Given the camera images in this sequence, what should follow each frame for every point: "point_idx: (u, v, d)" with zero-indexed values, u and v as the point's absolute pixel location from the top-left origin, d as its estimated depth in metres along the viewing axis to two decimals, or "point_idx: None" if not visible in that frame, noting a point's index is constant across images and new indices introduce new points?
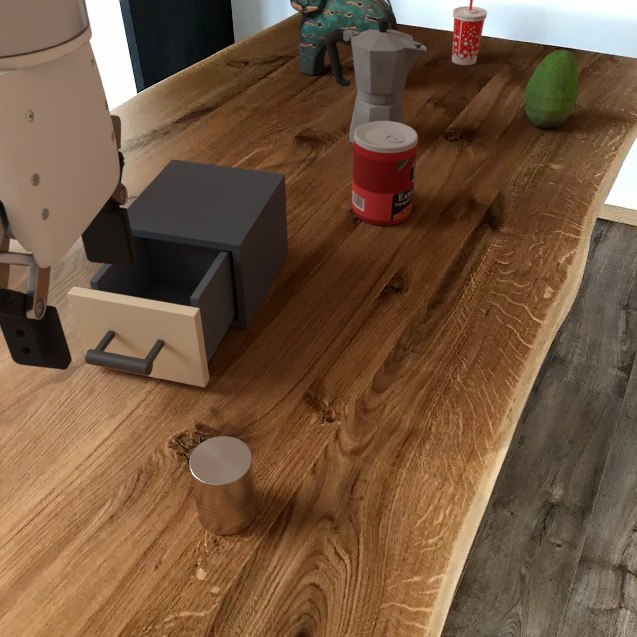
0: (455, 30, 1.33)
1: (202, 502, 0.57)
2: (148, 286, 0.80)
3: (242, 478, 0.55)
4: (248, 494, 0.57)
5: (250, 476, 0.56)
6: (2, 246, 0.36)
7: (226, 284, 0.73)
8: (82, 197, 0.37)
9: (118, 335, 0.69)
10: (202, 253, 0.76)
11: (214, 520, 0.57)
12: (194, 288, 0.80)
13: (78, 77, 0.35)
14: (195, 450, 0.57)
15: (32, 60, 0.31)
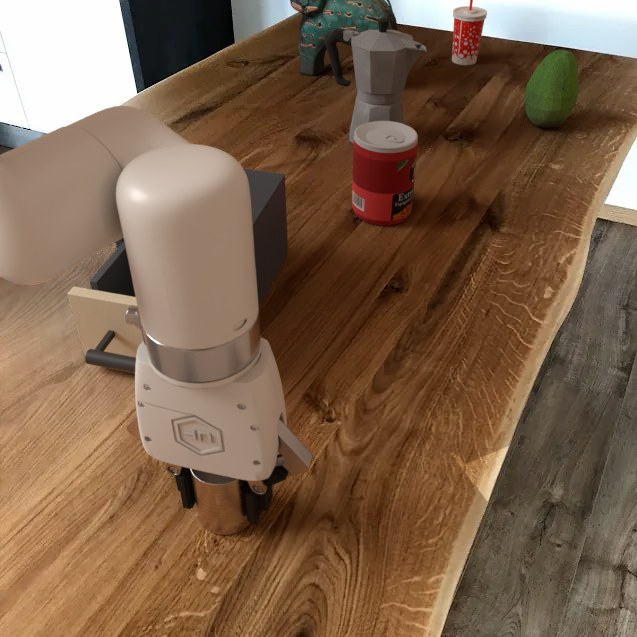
0: (455, 30, 1.33)
1: (202, 502, 0.57)
2: None
3: None
4: None
5: None
6: None
7: None
8: None
9: (118, 335, 0.69)
10: None
11: (214, 520, 0.57)
12: None
13: None
14: None
15: None
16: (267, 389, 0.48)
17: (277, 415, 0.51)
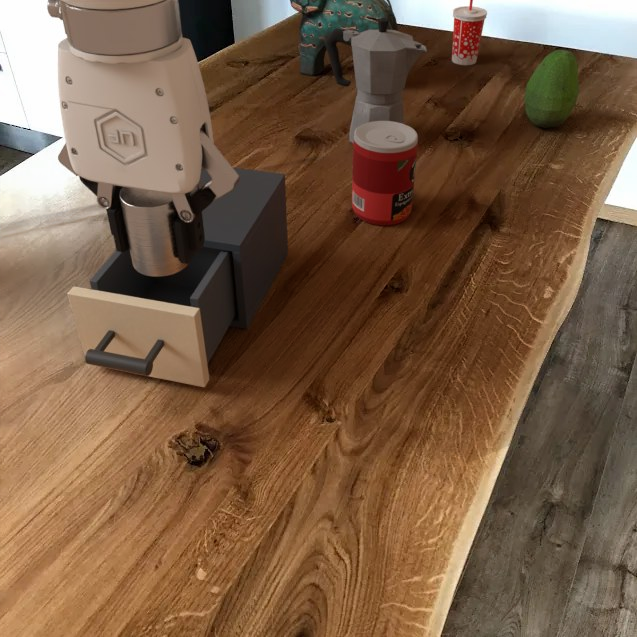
0: (455, 30, 1.33)
1: (132, 235, 0.57)
2: (148, 286, 0.80)
3: (171, 205, 0.56)
4: None
5: None
6: None
7: (226, 284, 0.73)
8: None
9: (118, 335, 0.69)
10: (202, 253, 0.76)
11: (145, 256, 0.58)
12: (194, 288, 0.80)
13: None
14: None
15: None
16: (186, 78, 0.49)
17: (199, 119, 0.51)
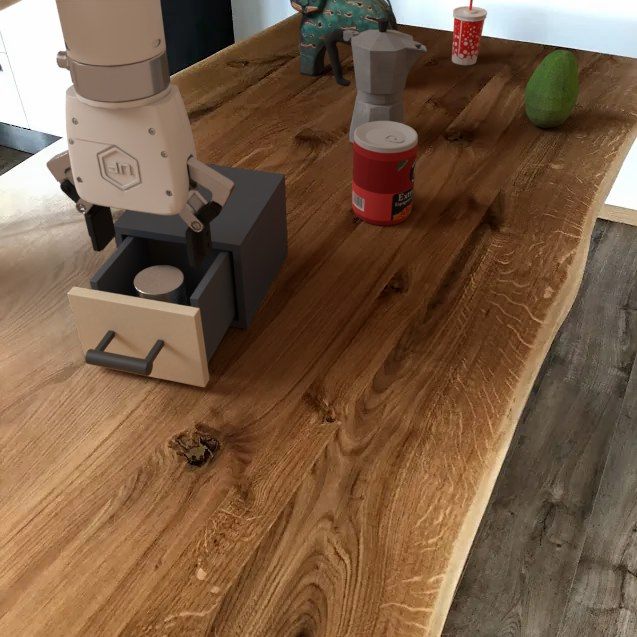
0: (455, 30, 1.33)
1: None
2: None
3: (175, 291, 0.70)
4: None
5: (182, 293, 0.71)
6: None
7: (226, 284, 0.73)
8: None
9: (118, 335, 0.69)
10: None
11: None
12: (194, 288, 0.80)
13: None
14: (139, 273, 0.71)
15: None
16: (174, 119, 0.58)
17: (186, 152, 0.60)
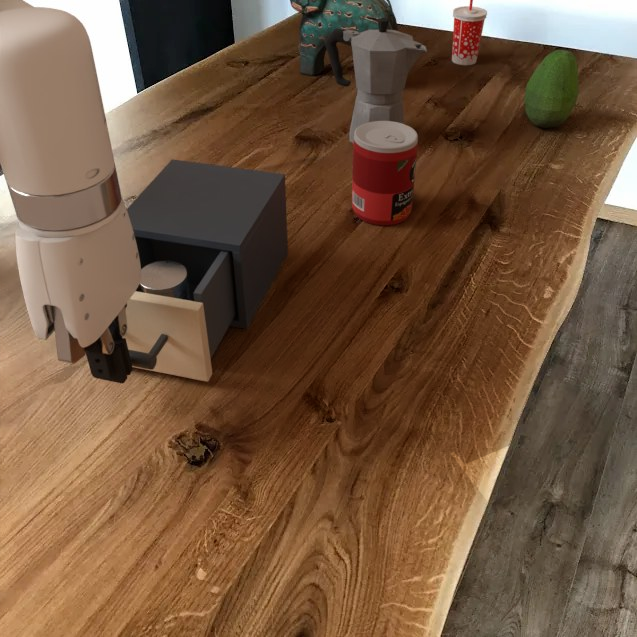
0: (455, 30, 1.33)
1: None
2: None
3: (178, 286, 0.70)
4: None
5: (186, 288, 0.71)
6: None
7: (229, 279, 0.74)
8: (112, 300, 0.58)
9: None
10: (205, 249, 0.77)
11: None
12: (197, 284, 0.81)
13: (113, 229, 0.56)
14: (143, 269, 0.72)
15: (83, 231, 0.51)
16: (26, 258, 0.52)
17: (44, 298, 0.53)
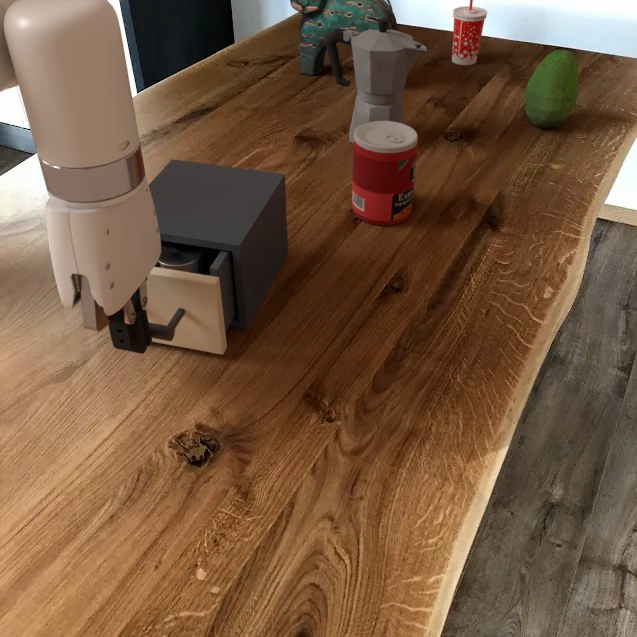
0: (455, 30, 1.33)
1: None
2: None
3: (195, 262, 0.73)
4: None
5: (201, 265, 0.74)
6: None
7: None
8: (135, 272, 0.61)
9: None
10: None
11: None
12: (210, 263, 0.83)
13: (137, 203, 0.58)
14: None
15: (110, 203, 0.54)
16: (56, 229, 0.55)
17: (72, 267, 0.56)
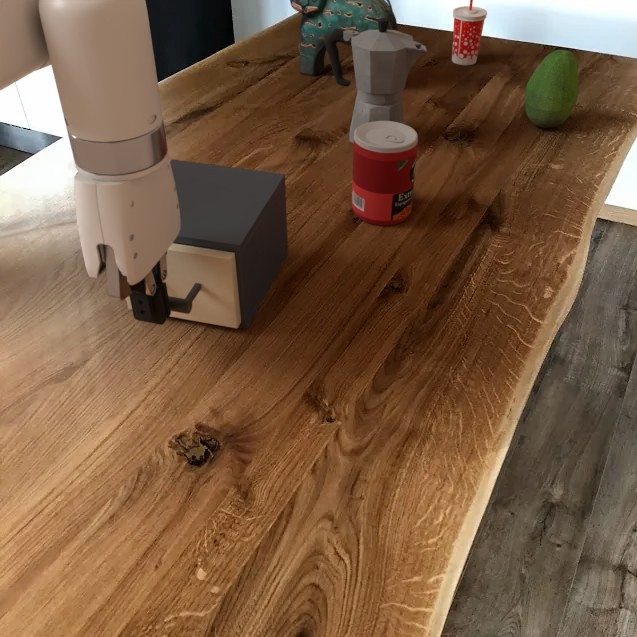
0: (455, 30, 1.33)
1: None
2: None
3: None
4: None
5: None
6: None
7: None
8: (156, 244, 0.64)
9: None
10: None
11: None
12: None
13: (159, 178, 0.62)
14: None
15: (135, 176, 0.57)
16: (84, 200, 0.58)
17: (98, 237, 0.59)
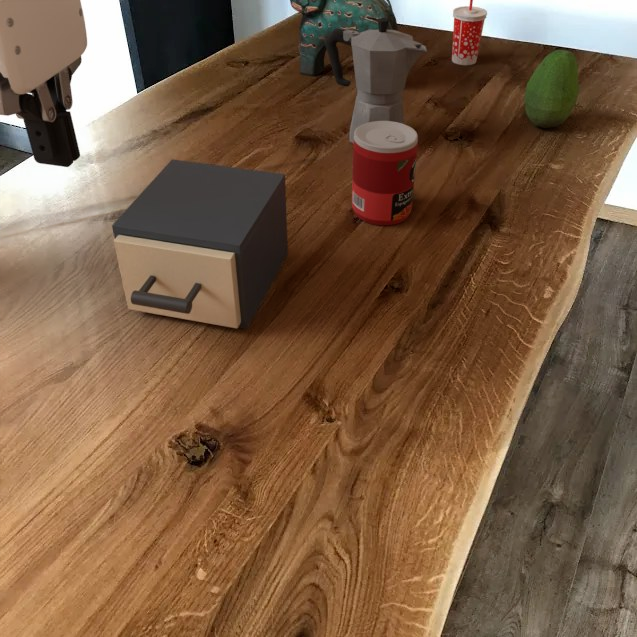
0: (455, 30, 1.33)
1: None
2: None
3: None
4: None
5: None
6: None
7: None
8: (50, 48, 0.52)
9: (159, 280, 0.75)
10: None
11: None
12: None
13: None
14: None
15: None
16: None
17: None
